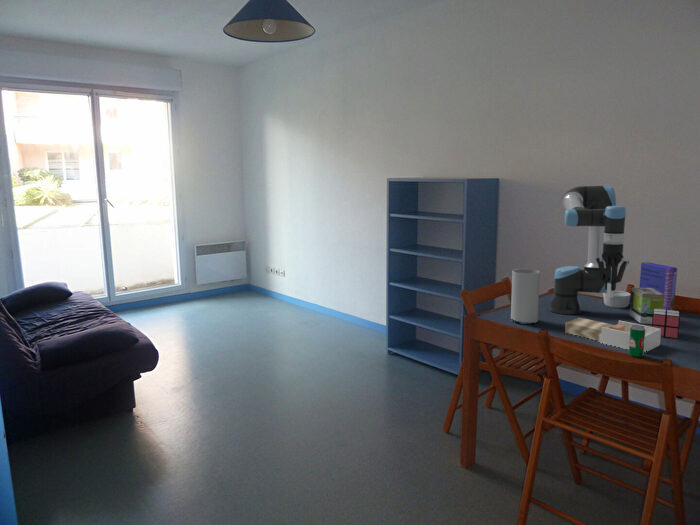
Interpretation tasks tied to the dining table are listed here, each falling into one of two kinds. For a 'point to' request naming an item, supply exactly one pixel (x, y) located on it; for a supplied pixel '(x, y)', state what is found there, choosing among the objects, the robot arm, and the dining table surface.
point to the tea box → (645, 304)
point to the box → (623, 338)
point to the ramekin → (617, 299)
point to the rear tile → (619, 327)
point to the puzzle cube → (666, 322)
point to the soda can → (637, 340)
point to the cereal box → (660, 281)
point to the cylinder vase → (525, 295)
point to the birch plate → (585, 328)
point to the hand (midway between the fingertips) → (609, 297)
